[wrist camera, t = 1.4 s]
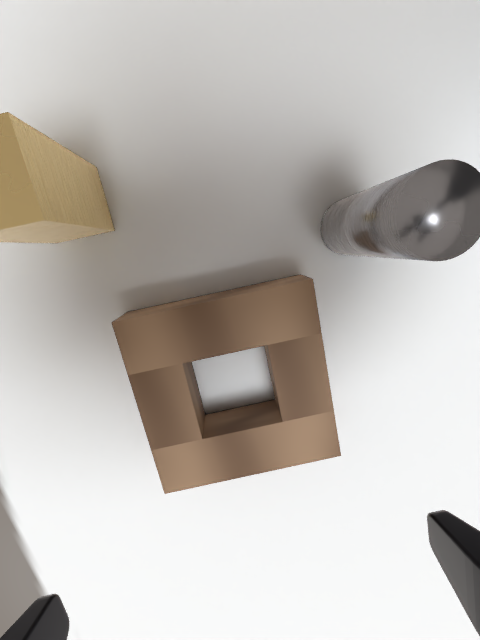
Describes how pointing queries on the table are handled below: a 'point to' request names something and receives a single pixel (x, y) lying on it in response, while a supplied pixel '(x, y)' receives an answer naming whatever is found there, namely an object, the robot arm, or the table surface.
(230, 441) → the bore block
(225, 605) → the table surface
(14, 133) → the square bit
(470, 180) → the cylinder
